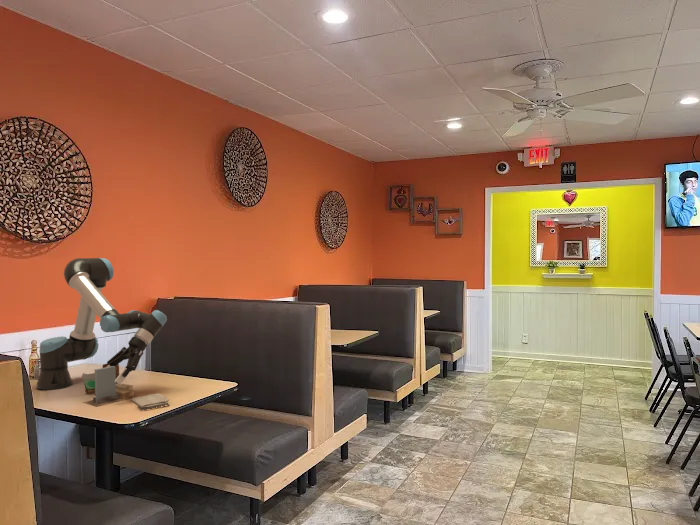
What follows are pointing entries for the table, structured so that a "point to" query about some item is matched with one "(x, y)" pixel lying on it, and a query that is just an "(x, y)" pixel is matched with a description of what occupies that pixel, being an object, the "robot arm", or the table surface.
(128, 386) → the offcut stack
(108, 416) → the table surface
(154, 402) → the washcloth
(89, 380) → the food container
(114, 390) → the tall panel
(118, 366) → the mug
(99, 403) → the brown rectangular board
